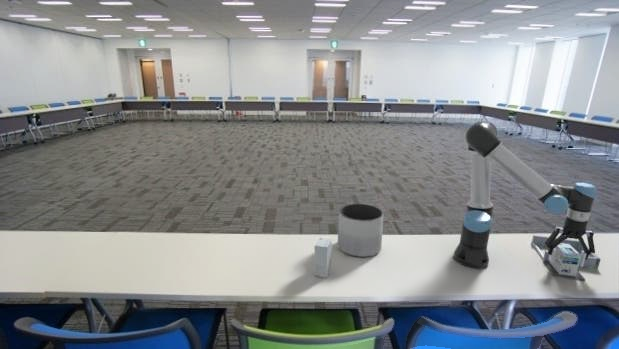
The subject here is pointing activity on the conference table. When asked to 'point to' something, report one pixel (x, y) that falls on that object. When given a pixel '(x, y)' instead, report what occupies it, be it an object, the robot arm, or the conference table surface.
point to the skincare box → (323, 257)
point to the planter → (360, 230)
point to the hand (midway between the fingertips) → (565, 263)
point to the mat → (555, 273)
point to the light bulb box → (566, 260)
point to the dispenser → (592, 258)
